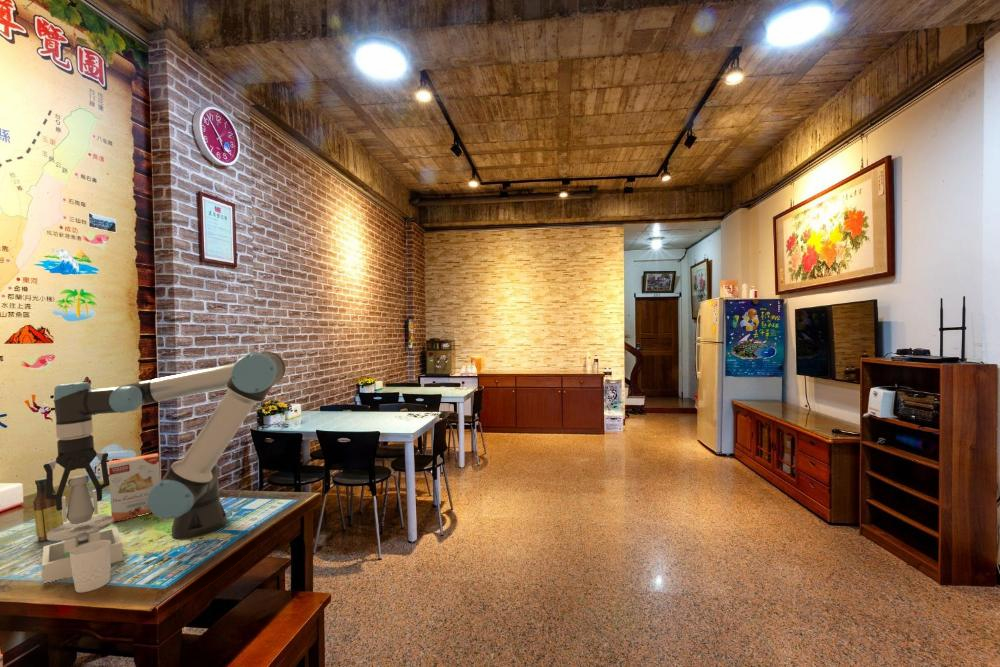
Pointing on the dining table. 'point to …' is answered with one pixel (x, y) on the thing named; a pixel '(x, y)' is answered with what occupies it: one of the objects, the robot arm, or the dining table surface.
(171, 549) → the dining table surface
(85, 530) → the grey shiny rounded piece
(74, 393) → the robot arm
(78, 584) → the white cup
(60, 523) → the sauce bottle
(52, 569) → the square open box
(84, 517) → the salt shaker
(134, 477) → the cracker box
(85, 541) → the peak pointer
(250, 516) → the dining table surface
